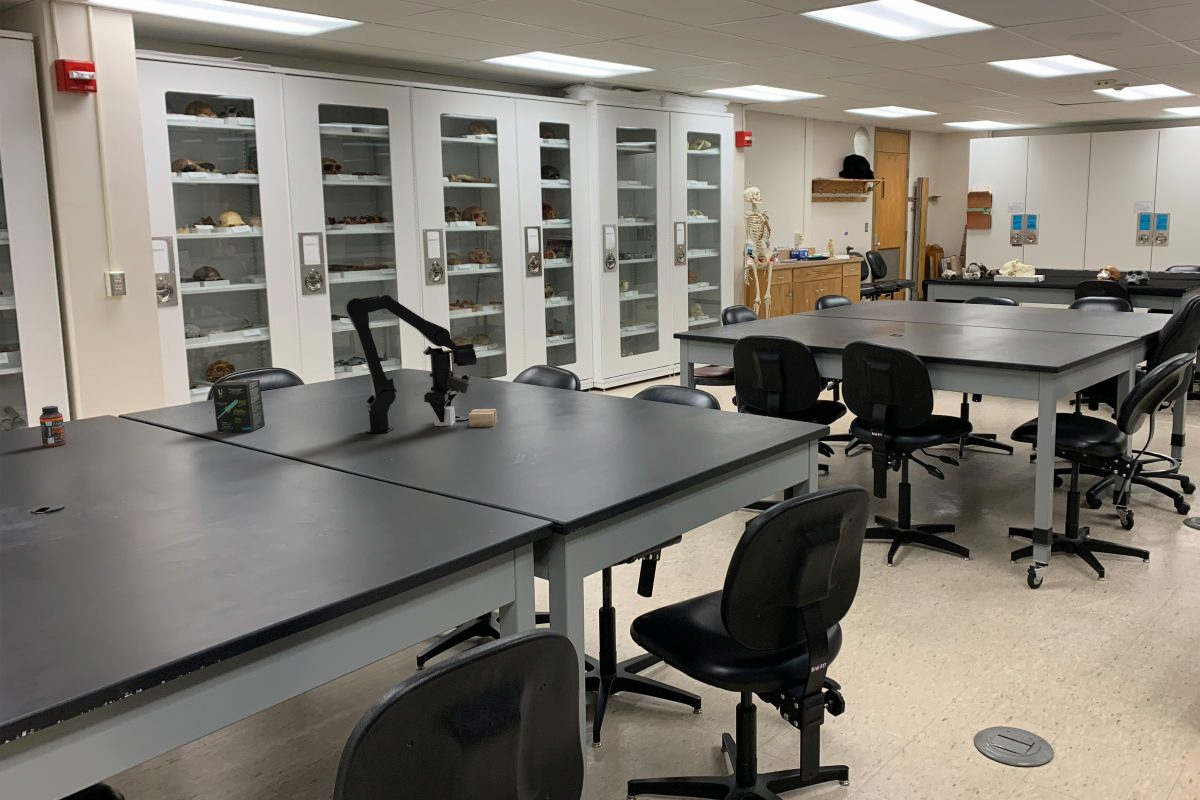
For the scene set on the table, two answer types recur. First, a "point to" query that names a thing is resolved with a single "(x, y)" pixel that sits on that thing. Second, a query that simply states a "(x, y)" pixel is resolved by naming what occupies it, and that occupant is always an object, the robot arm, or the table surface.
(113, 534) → the table surface
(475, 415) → the oak block
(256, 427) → the tampon box
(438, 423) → the white cube
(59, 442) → the supplement bottle
